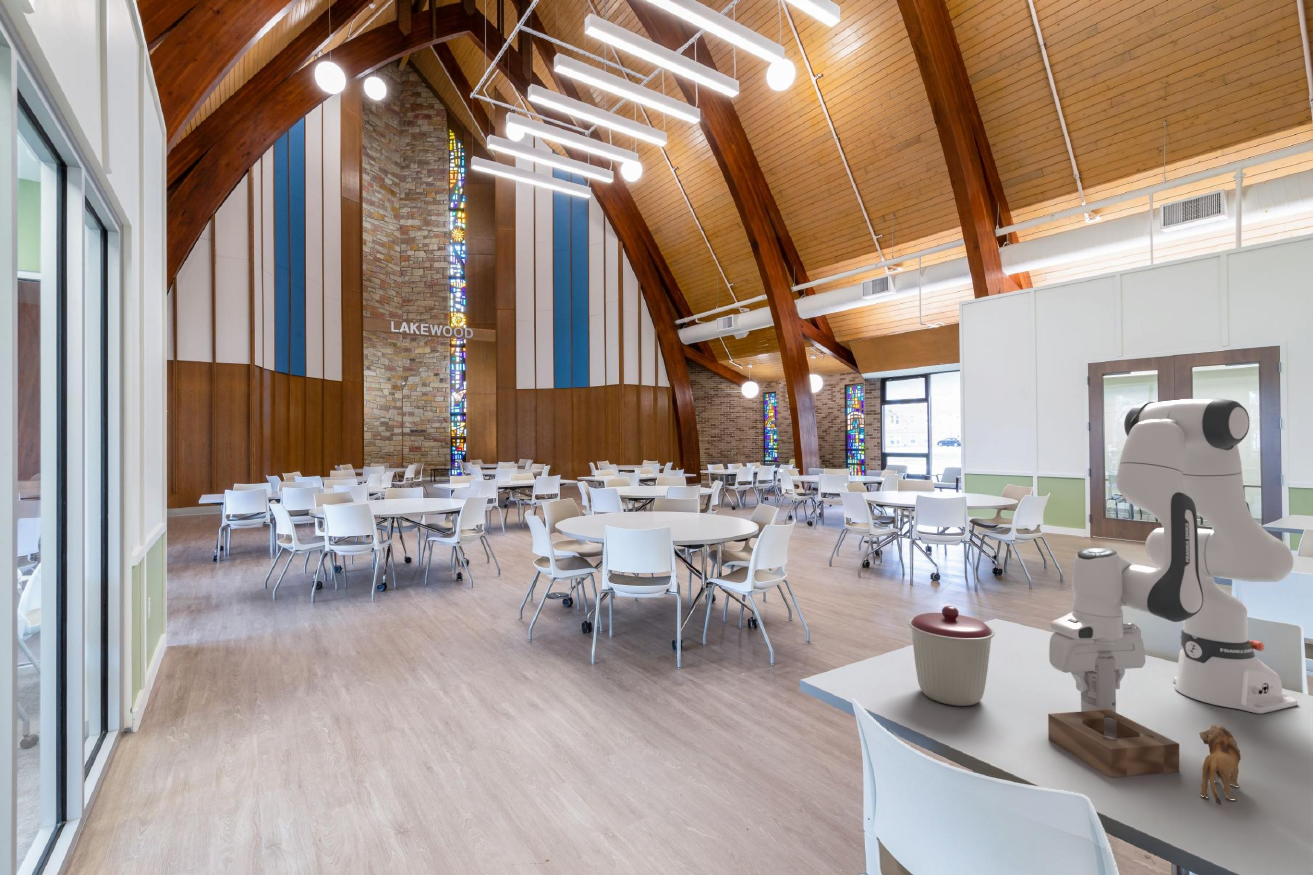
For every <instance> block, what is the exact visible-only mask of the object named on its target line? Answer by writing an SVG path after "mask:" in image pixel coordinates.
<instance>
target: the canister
mask: <svg viewBox="0 0 1313 875" xmlns="http://www.w3.org/2000/svg"><path fill="white" fill-rule="evenodd" d="M907 623H908V626H909V627H910V628H911V629H910V630H911V636H912V647H913V654H914V656H913V657H914V662H915V663H914V664H915V670H916V671H915V672H916V678H917V681H918V682H917V683H918V686H919V689H920V690H921V691H922V693H923V694H924V695H925V696H926V697H927V698H929V699H931V700H933V701H936V702H938V703H940V704H941V703H942V704H945V705H950V706H956V707H966V706H967V707H968V706H973V705H977V704H978V703H979V702H980V701H981V700H982V699H983V696H984V693H985V690H986V685H987V684H986V682H987V677H988V670H989V669H988V668H989V662H990V661H989V660H990V651H991V643H992V638H994V637H995V633H996V632H995V631H994V629H993V628H992V627H990V626H988V625H987V624H986V623H985V622H983V621H982V620H979V619H976V618H974V617H970V616H966V615H961V614H960V613H959V610H958V609H957V607H955V606H951V605H946V606H944V607H942V610H941V612H926V613H925V612H924V613H921V614H917V615H916V616H914V617H912V618H910V619H909V620H908V622H907Z"/></svg>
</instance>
